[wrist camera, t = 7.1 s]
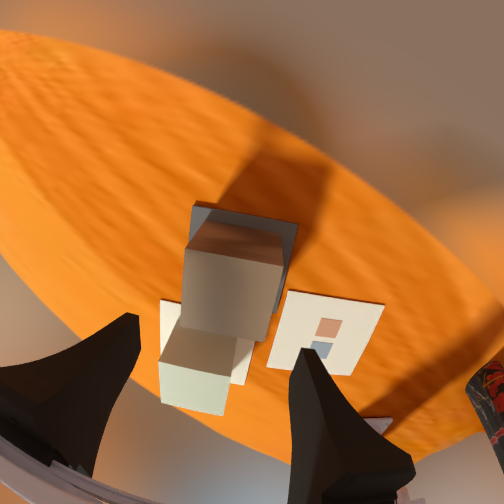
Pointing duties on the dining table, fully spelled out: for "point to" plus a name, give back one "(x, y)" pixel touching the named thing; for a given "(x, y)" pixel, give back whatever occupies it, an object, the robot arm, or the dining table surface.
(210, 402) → the sage block
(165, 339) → the card
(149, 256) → the dining table surface
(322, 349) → the card
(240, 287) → the walnut block
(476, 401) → the deodorant
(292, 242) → the coaster
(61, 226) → the dining table surface
